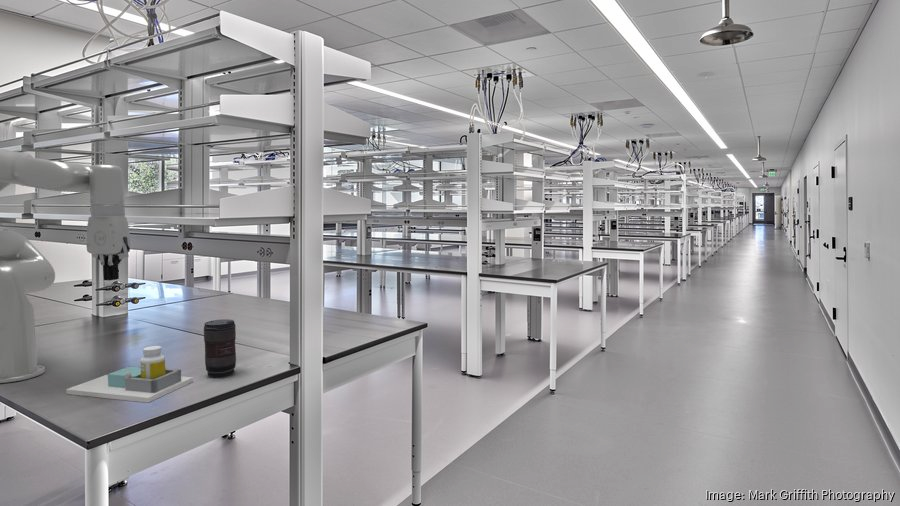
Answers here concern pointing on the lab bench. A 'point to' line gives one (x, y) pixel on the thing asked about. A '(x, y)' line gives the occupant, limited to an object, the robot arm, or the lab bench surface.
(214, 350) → the camera lens
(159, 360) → the supplement bottle
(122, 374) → the block
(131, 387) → the board
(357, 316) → the lab bench surface
